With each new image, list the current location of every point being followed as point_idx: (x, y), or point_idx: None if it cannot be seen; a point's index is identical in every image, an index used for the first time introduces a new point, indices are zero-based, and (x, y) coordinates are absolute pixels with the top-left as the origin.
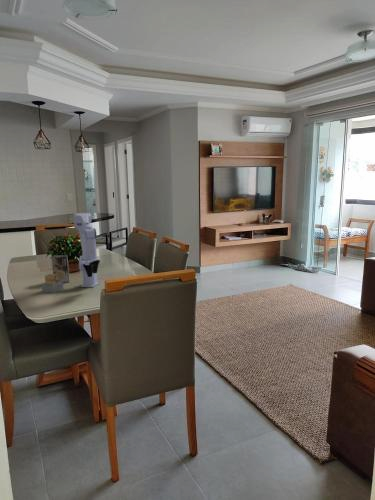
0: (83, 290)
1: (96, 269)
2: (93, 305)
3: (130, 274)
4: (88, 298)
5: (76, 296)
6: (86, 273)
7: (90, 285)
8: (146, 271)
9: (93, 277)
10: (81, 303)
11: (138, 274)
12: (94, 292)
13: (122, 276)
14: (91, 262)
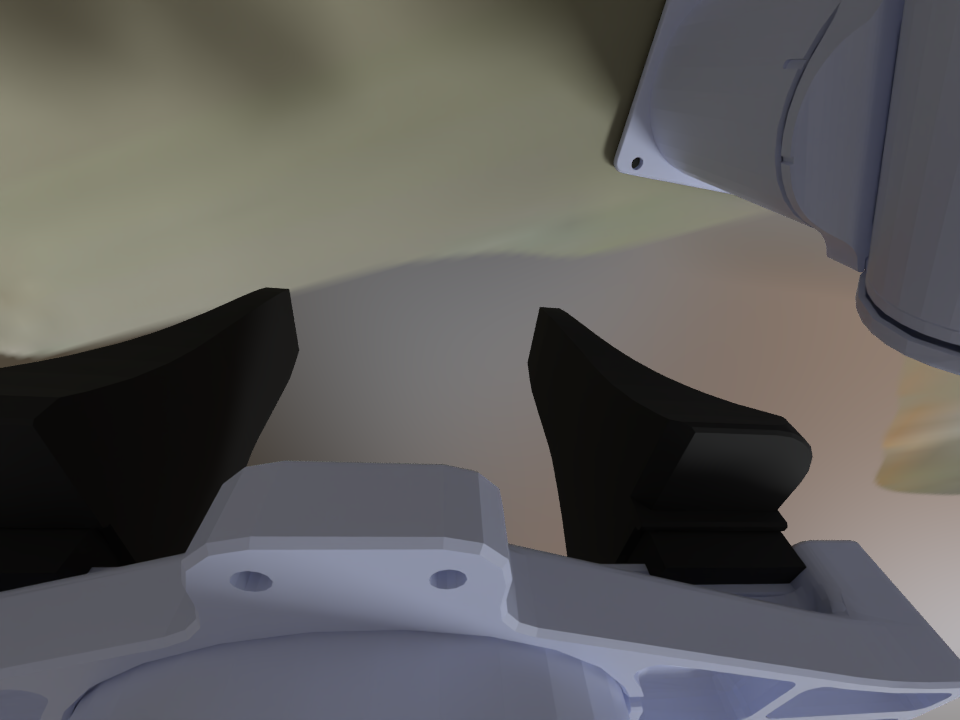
0: (502, 61)
1: (543, 411)
2: (27, 335)
3: (941, 415)
4: (200, 231)
5: (223, 35)
6: (779, 81)
7: (654, 128)
8: (947, 492)
9: (734, 192)
10: (7, 202)
11: (896, 463)
12: (417, 239)
13: (918, 370)
14: (628, 454)
